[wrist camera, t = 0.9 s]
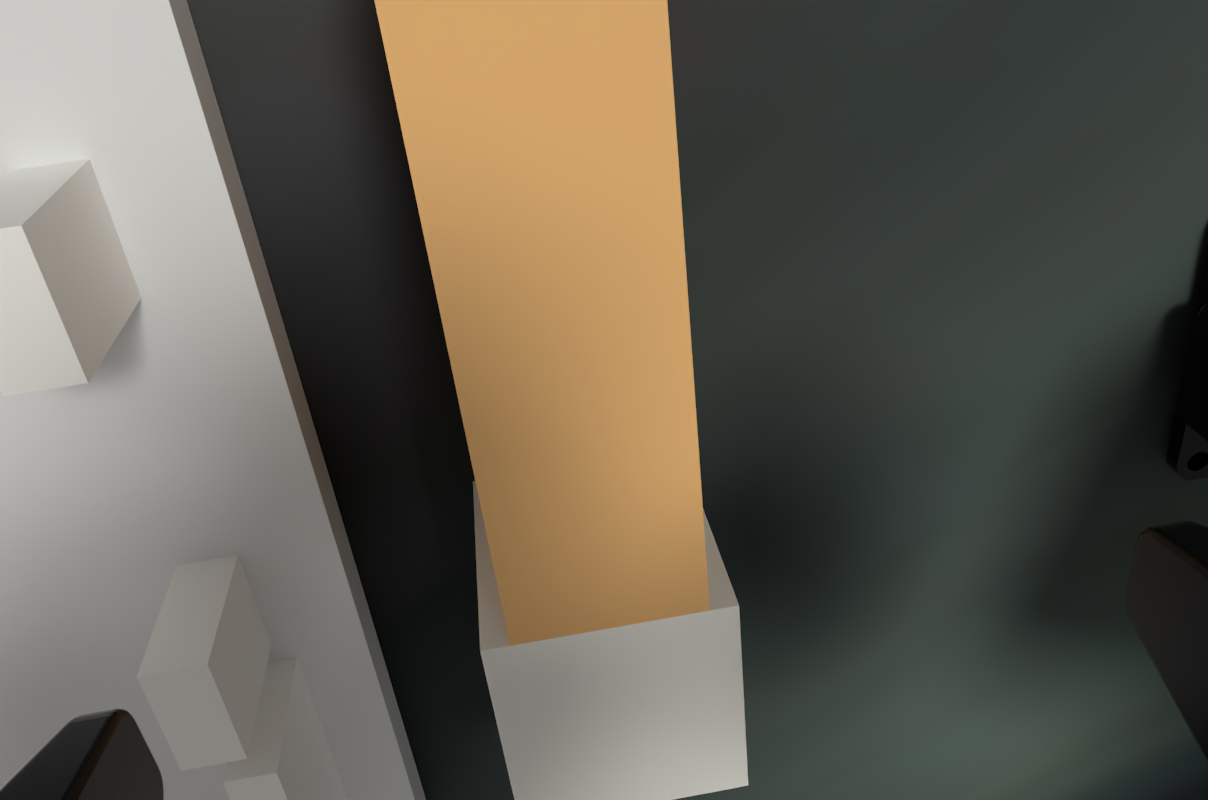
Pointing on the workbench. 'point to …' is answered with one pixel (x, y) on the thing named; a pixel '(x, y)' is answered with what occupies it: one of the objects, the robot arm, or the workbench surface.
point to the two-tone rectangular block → (574, 388)
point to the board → (164, 438)
